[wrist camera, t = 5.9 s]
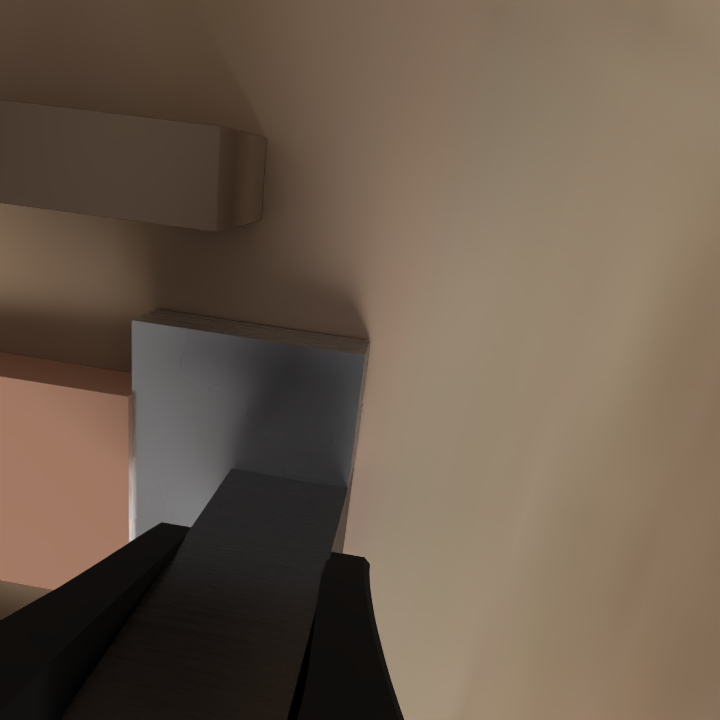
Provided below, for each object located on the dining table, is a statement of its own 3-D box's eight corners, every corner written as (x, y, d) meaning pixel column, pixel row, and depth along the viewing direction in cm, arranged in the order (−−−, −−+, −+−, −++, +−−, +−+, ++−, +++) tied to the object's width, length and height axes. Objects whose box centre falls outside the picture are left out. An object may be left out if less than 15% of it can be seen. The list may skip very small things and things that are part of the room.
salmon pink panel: (161, 372, 13) (128, 396, 11) (158, 561, 14) (128, 603, 13) (-52, 338, 13) (-111, 359, 12) (-32, 527, 15) (-82, 564, 13)
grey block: (370, 341, 12) (291, 556, 5) (329, 653, 14) (240, 1075, 7) (155, 309, 12) (-188, 473, 5) (151, 620, 14) (-85, 996, 8)
